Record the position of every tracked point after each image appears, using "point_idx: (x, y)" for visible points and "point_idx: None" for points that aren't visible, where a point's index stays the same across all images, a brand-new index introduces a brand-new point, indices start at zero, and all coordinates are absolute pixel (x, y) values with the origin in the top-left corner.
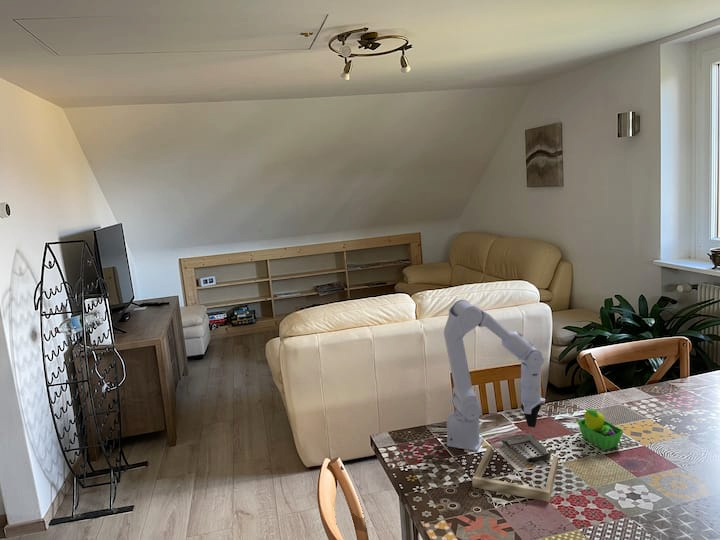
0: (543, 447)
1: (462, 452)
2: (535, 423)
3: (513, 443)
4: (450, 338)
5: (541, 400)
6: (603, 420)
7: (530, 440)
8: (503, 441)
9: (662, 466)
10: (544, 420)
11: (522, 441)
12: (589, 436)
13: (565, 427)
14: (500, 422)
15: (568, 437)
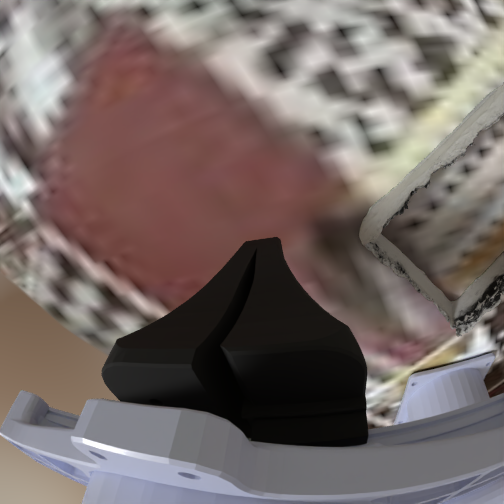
0: (501, 109)
1: (494, 372)
2: (279, 250)
3: (425, 277)
4: None
5: (226, 490)
6: None
7: (372, 210)
8: (474, 319)
9: None
10: (78, 223)
11: (394, 246)
12: None
13: (75, 91)
14: None
15: (186, 9)
